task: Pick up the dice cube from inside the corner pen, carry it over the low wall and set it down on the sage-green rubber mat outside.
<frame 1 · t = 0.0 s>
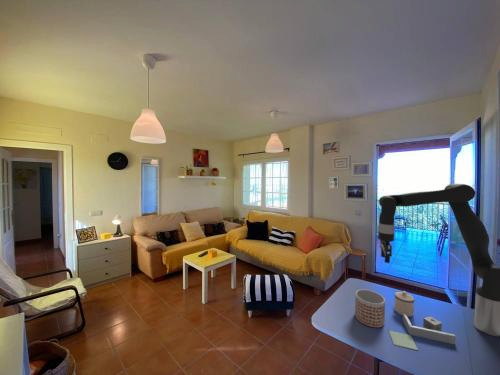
hand: (385, 259, 118), 29 cm above the table, fingers open, 8 cm apart
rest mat: (402, 340, 97), on the table
planter: (369, 319, 112), on the table
pen walls: (431, 338, 99), on the table
dice cube: (432, 330, 104), on the table
teacup with lid: (402, 310, 119), on the table
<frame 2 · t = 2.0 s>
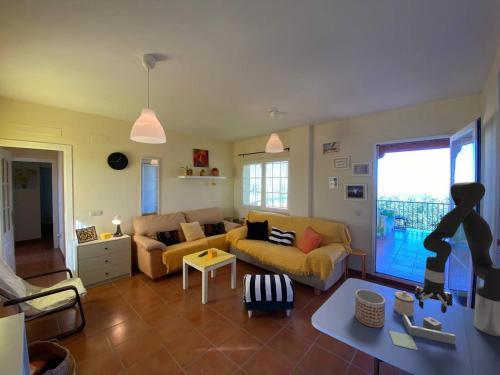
hand: (431, 310, 104), 10 cm above the table, fingers open, 8 cm apart
nothing on the table moved.
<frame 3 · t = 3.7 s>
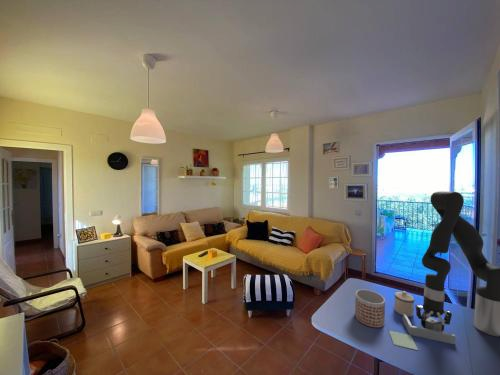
hand: (432, 328, 104), 1 cm above the table, fingers closed on dice cube, 6 cm apart
dice cube: (431, 331, 103), on the table, touching gripper
everything else where it was.
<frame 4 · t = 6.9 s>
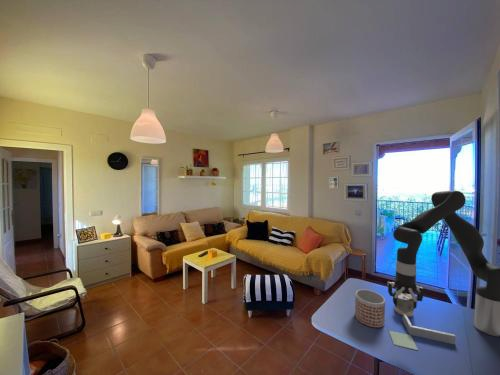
hand: (404, 306, 97), 16 cm above the table, fingers closed on dice cube, 6 cm apart
dice cube: (403, 308, 96), point 16 cm above the table, touching gripper
everything else where it was.
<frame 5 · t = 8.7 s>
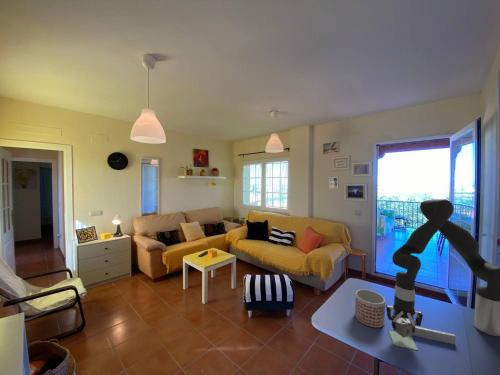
hand: (402, 330, 97), 5 cm above the table, fingers closed on dice cube, 6 cm apart
dice cube: (402, 333, 97), point 4 cm above the table, touching gripper
everything else where it was.
when the fingers open (2 cm above the table, at t = 10.4 s): dice cube stays where it is, resting on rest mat.
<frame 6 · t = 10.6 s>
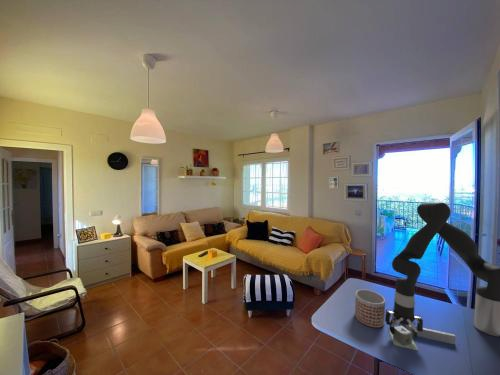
hand: (402, 335, 97), 2 cm above the table, fingers open, 8 cm apart
dice cube: (402, 340, 97), resting on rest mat
everything else where it was.
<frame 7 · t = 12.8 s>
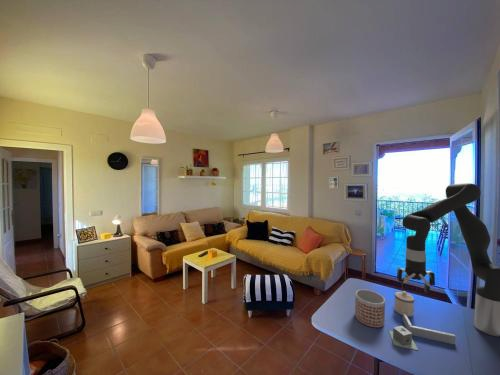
hand: (415, 291, 99), 22 cm above the table, fingers open, 8 cm apart
nothing on the table moved.
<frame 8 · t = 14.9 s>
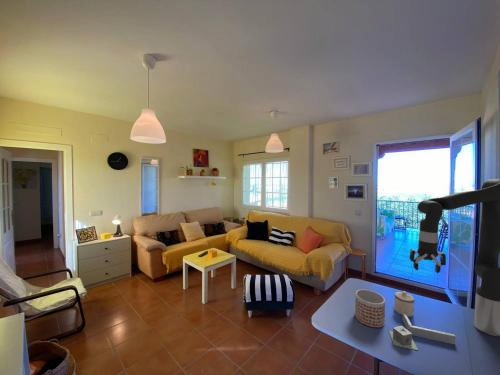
hand: (426, 271, 107), 28 cm above the table, fingers open, 8 cm apart
nothing on the table moved.
at the end: dice cube inside the target area on the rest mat (1.0 cm from its centre), point 0.1 cm above the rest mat's base; the gripper is holding nothing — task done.
